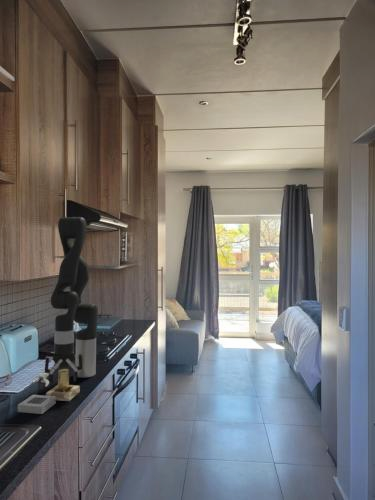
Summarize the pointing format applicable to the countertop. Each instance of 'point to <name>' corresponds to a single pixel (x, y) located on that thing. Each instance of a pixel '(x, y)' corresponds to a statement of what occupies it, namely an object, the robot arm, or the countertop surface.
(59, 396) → the rack block
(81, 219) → the robot arm
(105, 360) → the countertop surface
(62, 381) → the brass peg
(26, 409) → the socket block
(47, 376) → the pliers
